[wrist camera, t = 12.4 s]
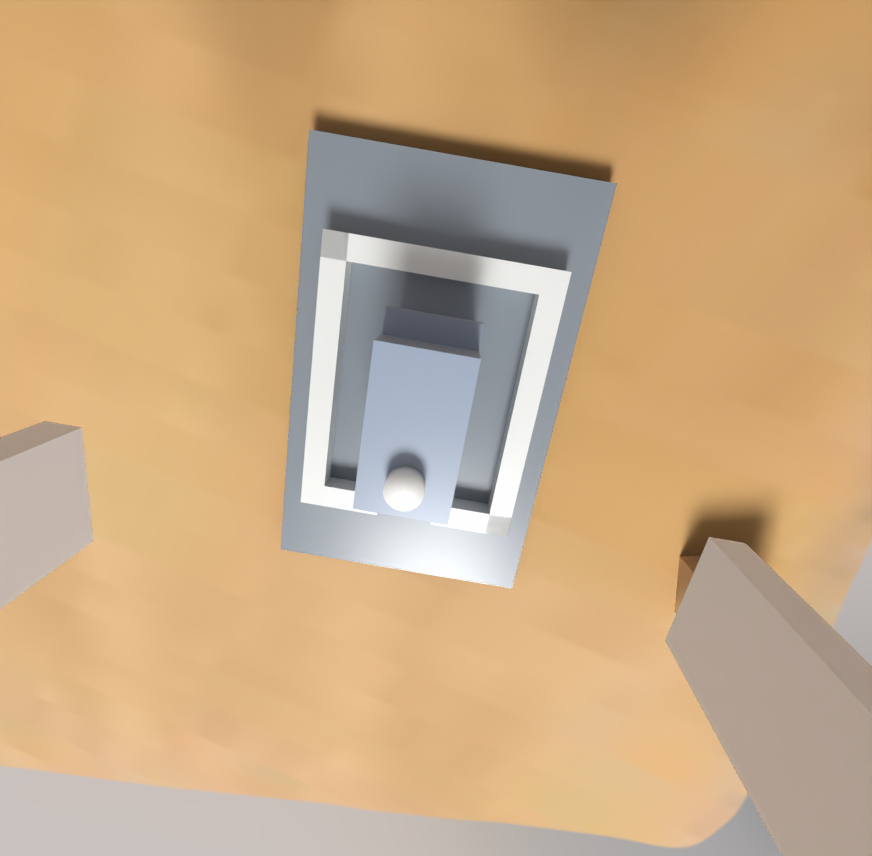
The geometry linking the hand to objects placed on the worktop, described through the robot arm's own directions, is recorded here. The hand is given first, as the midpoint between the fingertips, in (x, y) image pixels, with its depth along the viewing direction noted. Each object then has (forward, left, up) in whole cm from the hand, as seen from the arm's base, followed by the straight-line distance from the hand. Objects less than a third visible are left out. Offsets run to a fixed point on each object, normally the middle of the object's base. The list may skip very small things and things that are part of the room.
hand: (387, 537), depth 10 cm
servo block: (+1, 0, -15) cm, 15 cm away
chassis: (0, 0, -16) cm, 16 cm away
